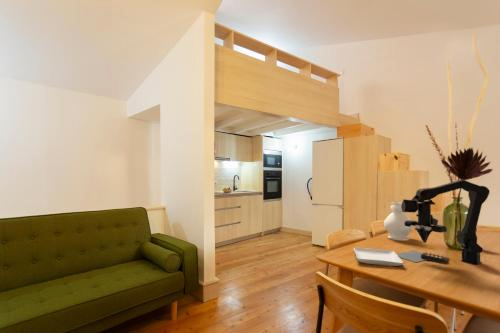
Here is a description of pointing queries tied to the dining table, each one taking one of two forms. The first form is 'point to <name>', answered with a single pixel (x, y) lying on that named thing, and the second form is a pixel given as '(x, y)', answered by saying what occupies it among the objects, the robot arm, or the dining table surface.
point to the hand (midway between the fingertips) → (424, 242)
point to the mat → (411, 256)
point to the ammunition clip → (434, 257)
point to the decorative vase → (397, 223)
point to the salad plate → (378, 256)
